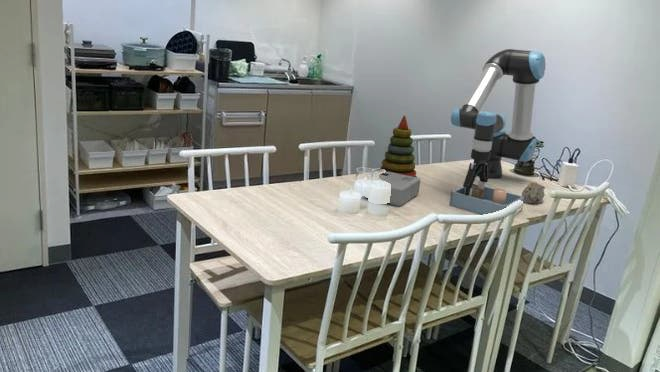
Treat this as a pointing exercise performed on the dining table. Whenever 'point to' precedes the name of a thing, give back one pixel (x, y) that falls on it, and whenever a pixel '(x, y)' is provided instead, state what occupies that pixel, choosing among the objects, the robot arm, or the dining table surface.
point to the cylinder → (499, 196)
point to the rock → (533, 193)
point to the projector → (401, 187)
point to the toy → (400, 152)
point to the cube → (477, 192)
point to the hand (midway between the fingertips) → (473, 199)
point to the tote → (481, 201)
